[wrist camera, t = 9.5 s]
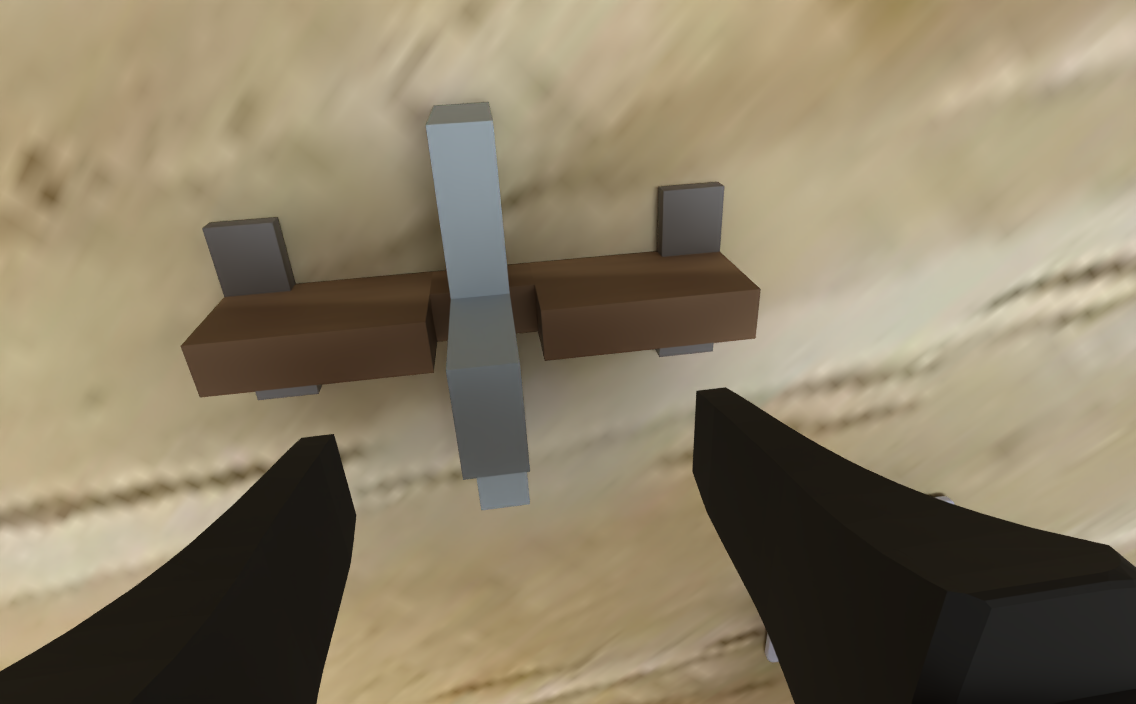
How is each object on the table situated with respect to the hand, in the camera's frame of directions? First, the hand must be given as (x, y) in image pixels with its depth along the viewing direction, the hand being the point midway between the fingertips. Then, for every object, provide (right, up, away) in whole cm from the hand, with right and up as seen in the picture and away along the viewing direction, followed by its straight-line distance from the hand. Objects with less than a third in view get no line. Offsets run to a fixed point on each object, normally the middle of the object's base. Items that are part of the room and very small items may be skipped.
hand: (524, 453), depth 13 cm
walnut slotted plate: (-2, +4, +9) cm, 10 cm away
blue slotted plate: (-2, +4, +9) cm, 10 cm away
